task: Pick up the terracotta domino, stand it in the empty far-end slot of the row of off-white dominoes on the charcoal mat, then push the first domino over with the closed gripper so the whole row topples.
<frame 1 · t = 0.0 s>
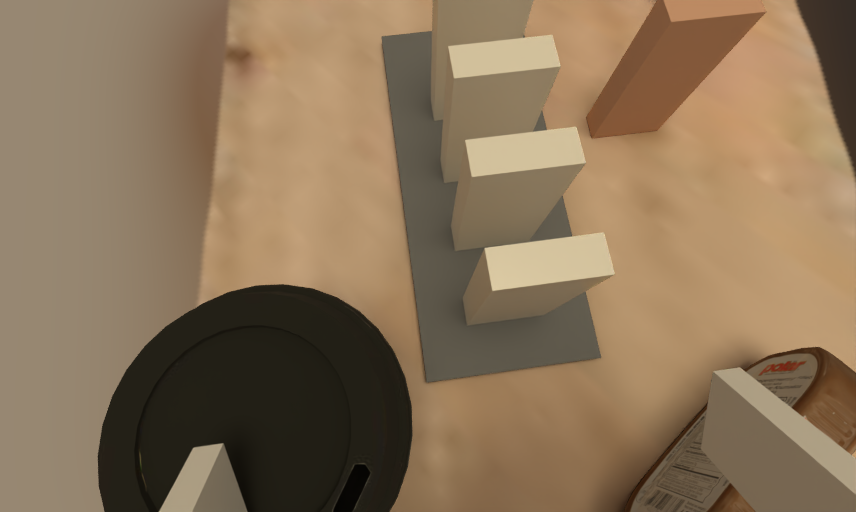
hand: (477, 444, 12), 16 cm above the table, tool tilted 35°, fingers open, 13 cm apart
domino 1: (503, 306, 28), point 1 cm above the table, touching mat
tin: (689, 447, 27), on the table
domino 3: (477, 167, 31), point 1 cm above the table, touching mat
domino 4: (465, 106, 33), point 1 cm above the table, touching mat
coffee cup: (341, 409, 28), on the table, touching gripper
domino 2: (489, 233, 30), point 1 cm above the table, touching mat
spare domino: (621, 124, 33), on the table
mat: (478, 184, 32), on the table
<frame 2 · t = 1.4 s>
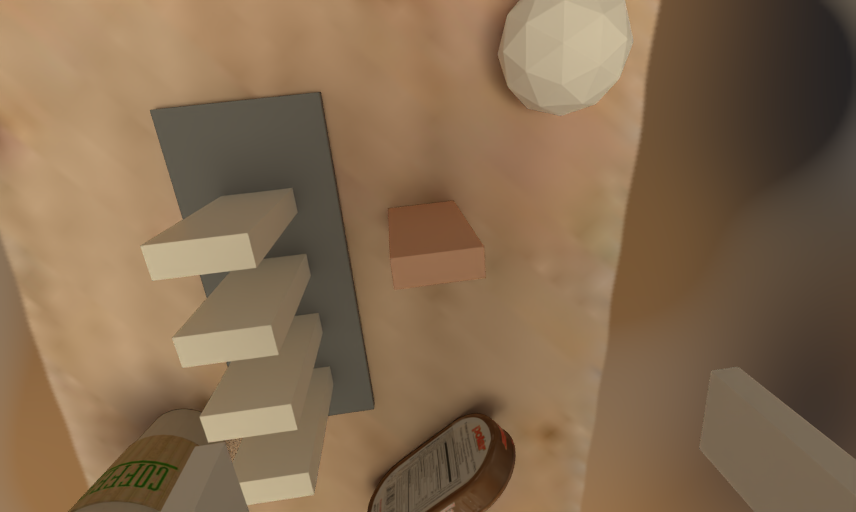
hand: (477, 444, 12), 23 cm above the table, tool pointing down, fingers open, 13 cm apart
domino 1: (301, 379, 37), point 1 cm above the table, touching mat
tin: (430, 446, 42), on the table
domino 3: (275, 268, 33), point 1 cm above the table, touching mat
domino 4: (259, 204, 32), point 1 cm above the table, touching mat
coffee cup: (188, 436, 39), on the table
domino 2: (289, 327, 35), point 1 cm above the table, touching mat
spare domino: (422, 215, 34), on the table
geometric ball: (541, 53, 31), on the table
mat: (280, 277, 34), on the table
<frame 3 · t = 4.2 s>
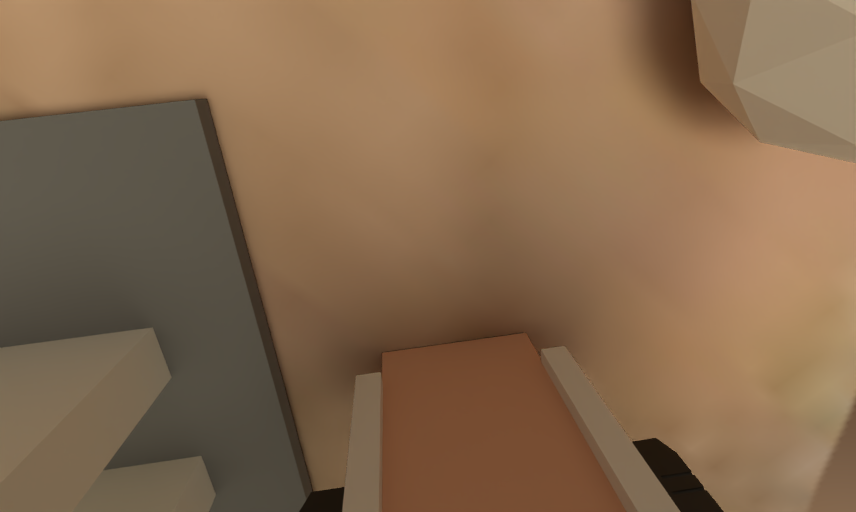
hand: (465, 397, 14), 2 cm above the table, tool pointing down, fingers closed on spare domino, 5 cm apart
domino 3: (134, 486, 15), point 1 cm above the table, touching mat
domino 4: (78, 364, 13), point 1 cm above the table, touching mat
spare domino: (456, 364, 16), on the table, touching gripper
mat: (155, 488, 16), on the table
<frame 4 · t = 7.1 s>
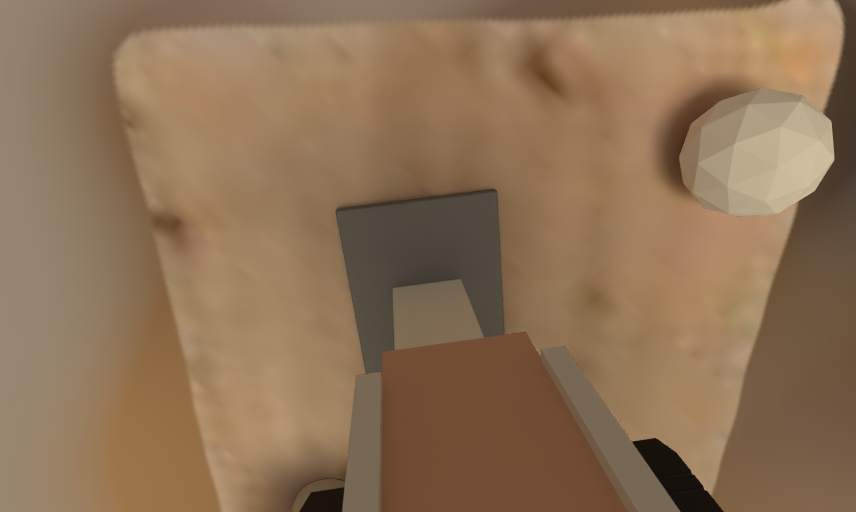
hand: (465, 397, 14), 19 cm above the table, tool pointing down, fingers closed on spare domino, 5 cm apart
domino 4: (428, 294, 32), point 1 cm above the table, touching mat
coffee cup: (329, 503, 40), on the table
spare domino: (456, 363, 16), point 17 cm above the table, touching gripper
geometric ball: (707, 147, 31), on the table
mat: (435, 357, 35), on the table
when the fingers open (4 cm above the table, at t = 10.0 s): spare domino drops 1 cm, resting on mat.
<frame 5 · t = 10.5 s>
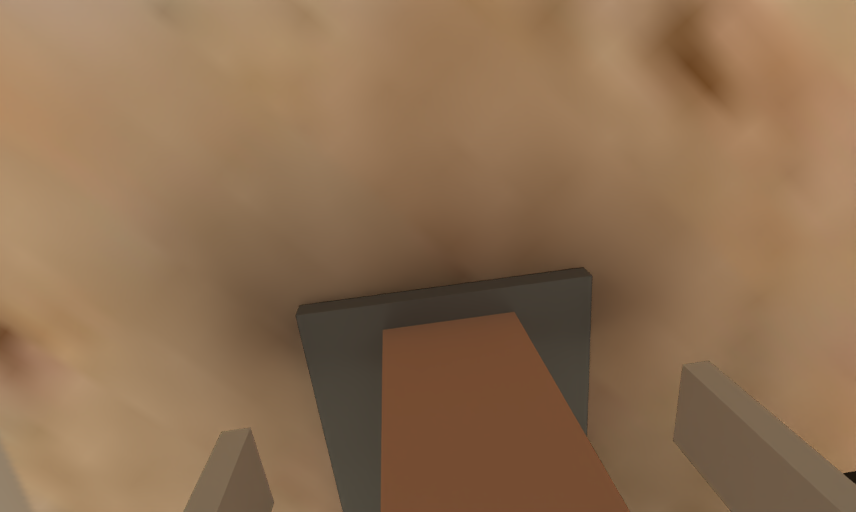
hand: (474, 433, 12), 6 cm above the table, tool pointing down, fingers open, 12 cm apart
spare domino: (451, 341, 17), point 1 cm above the table, touching mat
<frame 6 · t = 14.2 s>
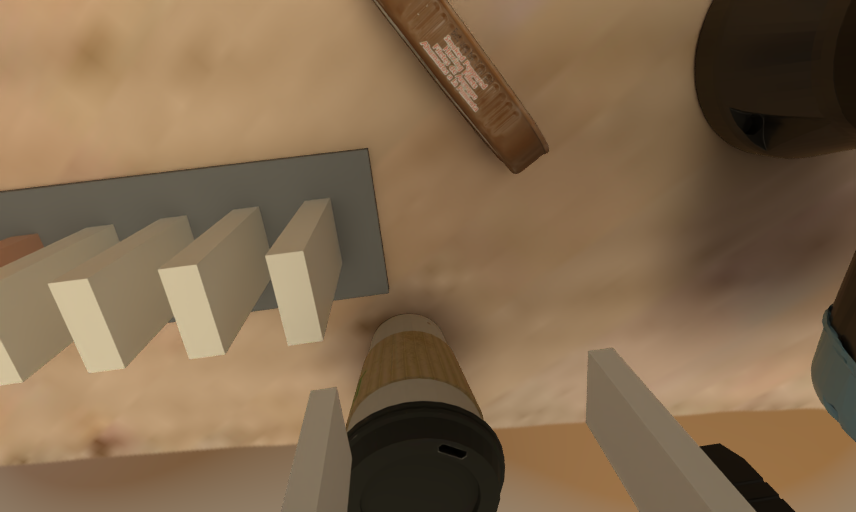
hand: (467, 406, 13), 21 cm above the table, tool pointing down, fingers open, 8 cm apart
domino 1: (324, 232, 32), point 1 cm above the table, touching mat
tin: (445, 69, 30), on the table
domino 3: (184, 250, 32), point 1 cm above the table, touching mat
domino 4: (112, 259, 31), point 1 cm above the table, touching mat
coffee cup: (408, 345, 37), on the table
domino 2: (254, 241, 32), point 1 cm above the table, touching mat
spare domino: (39, 268, 31), point 1 cm above the table, touching mat
mat: (202, 244, 32), on the table
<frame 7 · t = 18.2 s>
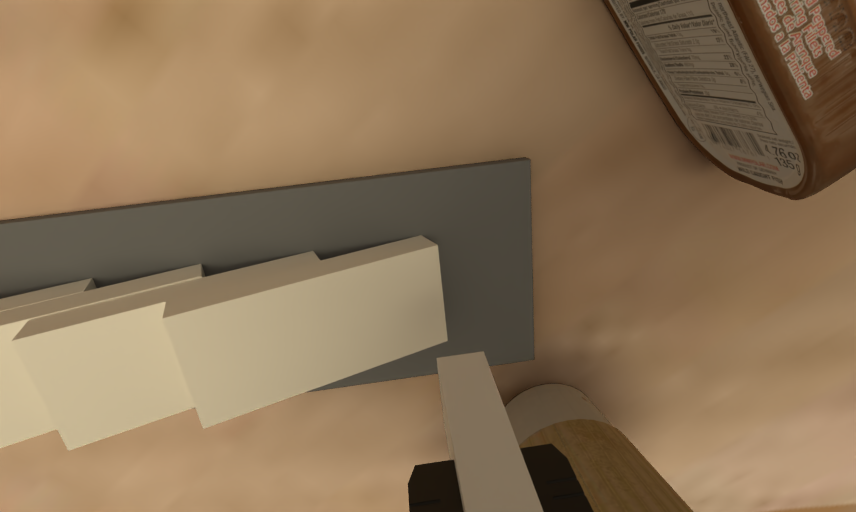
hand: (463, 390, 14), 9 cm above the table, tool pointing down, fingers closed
domino 1: (434, 288, 21), point 2 cm above the table, tilted 69°, touching domino 2, mat
tin: (649, 41, 20), on the table
domino 3: (216, 317, 21), point 2 cm above the table, tilted 69°, touching domino 2, domino 4, mat
domino 4: (108, 332, 21), point 2 cm above the table, tilted 69°, touching domino 3, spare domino
coffee cup: (544, 423, 27), on the table
domino 2: (327, 304, 21), point 2 cm above the table, tilted 69°, touching domino 1, domino 3, mat
mat: (278, 295, 23), on the table
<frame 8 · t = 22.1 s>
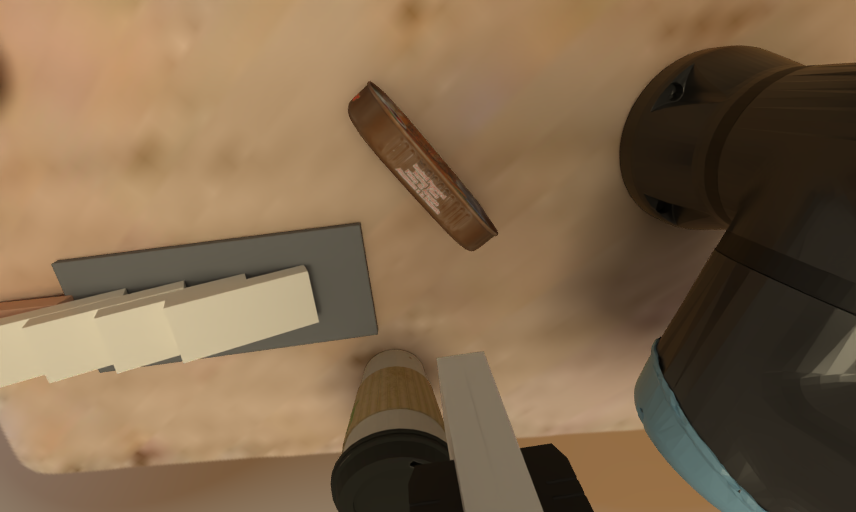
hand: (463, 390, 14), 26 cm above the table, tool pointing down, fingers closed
domino 1: (311, 293, 39), point 2 cm above the table, tilted 69°, touching domino 2, mat
tin: (421, 162, 38), on the table
domino 3: (192, 309, 39), point 2 cm above the table, tilted 69°, touching domino 2, domino 4, mat
domino 4: (134, 317, 39), point 2 cm above the table, tilted 69°, touching domino 3, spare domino
coffee cup: (394, 374, 45), on the table
domino 2: (252, 302, 39), point 2 cm above the table, tilted 69°, touching domino 1, domino 3, mat
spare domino: (75, 325, 38), point 2 cm above the table, tilted 94°, touching domino 4, mat
mat: (228, 297, 40), on the table
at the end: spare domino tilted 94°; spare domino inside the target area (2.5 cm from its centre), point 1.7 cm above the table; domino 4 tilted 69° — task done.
